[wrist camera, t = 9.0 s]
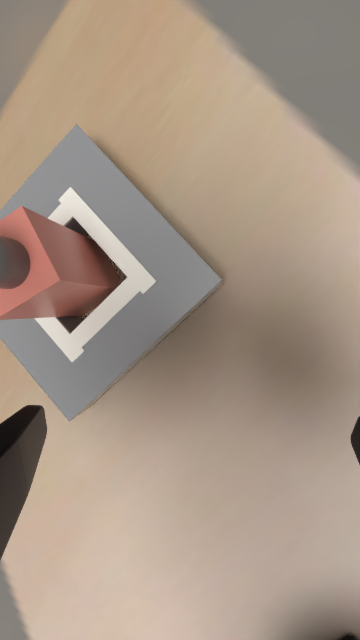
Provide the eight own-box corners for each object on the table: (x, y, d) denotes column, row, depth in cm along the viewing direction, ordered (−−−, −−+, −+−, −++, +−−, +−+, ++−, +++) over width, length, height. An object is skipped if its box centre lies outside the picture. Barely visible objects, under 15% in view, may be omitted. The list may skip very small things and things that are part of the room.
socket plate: (223, 283, 22) (221, 279, 19) (89, 407, 24) (67, 422, 21) (96, 147, 23) (74, 122, 20) (-22, 276, 25) (-58, 272, 22)
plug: (125, 290, 23) (15, 273, 12) (81, 315, 24) (-64, 323, 12) (101, 244, 24) (-32, 179, 12) (58, 270, 24) (-108, 234, 12)
